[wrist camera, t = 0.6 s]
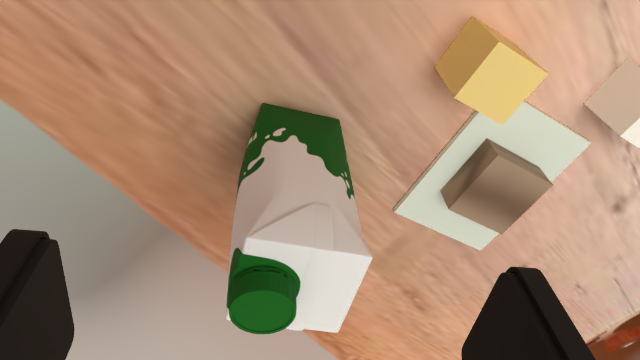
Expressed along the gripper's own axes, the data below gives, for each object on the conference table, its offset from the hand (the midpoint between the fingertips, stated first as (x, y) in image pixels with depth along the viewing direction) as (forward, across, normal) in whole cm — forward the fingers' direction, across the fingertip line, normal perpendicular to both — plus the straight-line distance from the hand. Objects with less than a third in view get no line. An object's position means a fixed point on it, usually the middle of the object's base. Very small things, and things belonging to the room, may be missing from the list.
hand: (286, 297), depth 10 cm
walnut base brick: (+31, -22, +16) cm, 41 cm away
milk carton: (+32, -3, +14) cm, 35 cm away
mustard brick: (+32, -17, +4) cm, 36 cm away
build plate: (+32, -22, +16) cm, 42 cm away
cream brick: (+32, -32, +5) cm, 45 cm away
